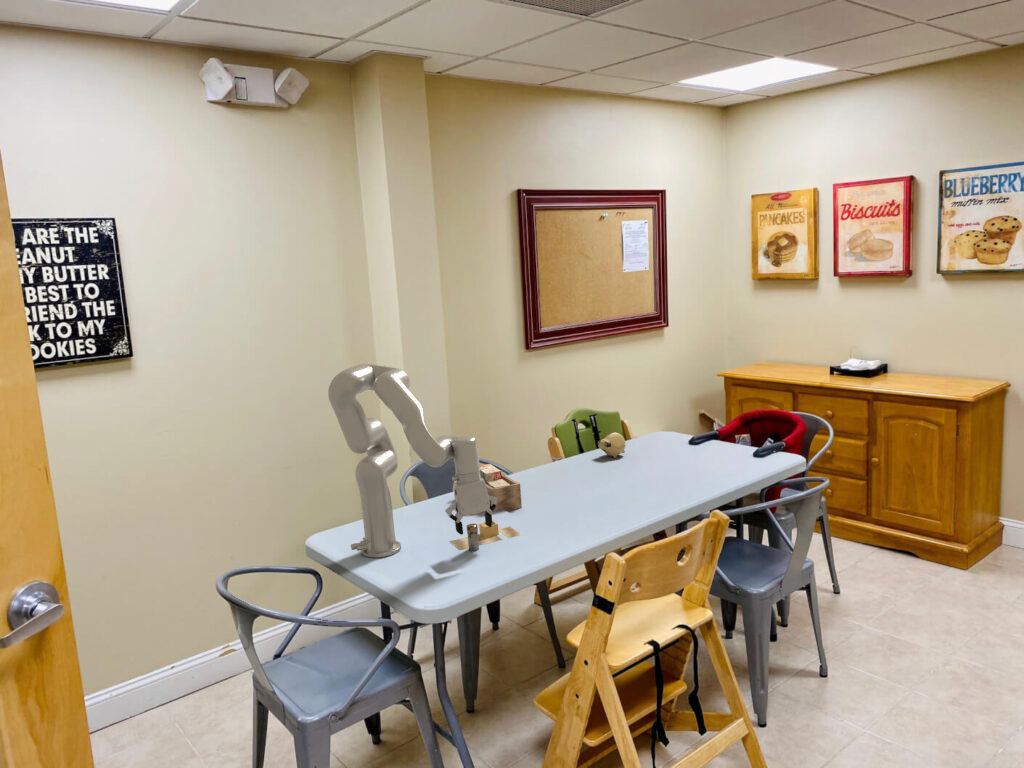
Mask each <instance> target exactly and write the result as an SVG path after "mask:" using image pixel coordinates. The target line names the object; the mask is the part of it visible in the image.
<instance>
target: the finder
mask: <svg viewBox="0 0 1024 768" xmlns="http://www.w3.org/2000/svg"><path fill="white" fill-rule="evenodd" d="M491 524H492V527H489V526H487V525H486V522H481V523H480V522H479V525H478V530H479V534H481V535H482V536H483V537H489V536H493V535H496V536H498V535H499V533H500V532H499V531H498V529H499V524H498V523H497V522H495V520H492V523H491Z"/></svg>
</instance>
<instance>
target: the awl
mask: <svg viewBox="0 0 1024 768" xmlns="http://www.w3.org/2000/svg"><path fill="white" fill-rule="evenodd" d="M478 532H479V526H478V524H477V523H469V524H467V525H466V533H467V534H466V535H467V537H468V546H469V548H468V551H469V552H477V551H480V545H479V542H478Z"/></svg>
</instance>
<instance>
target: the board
mask: <svg viewBox="0 0 1024 768" xmlns="http://www.w3.org/2000/svg"><path fill="white" fill-rule="evenodd" d="M498 531H499V533H501V534H502V535H504V536H505V537H507V538H508V539H510V538H511V539H512V538H515V537H518V536H522V533H520V532H519V531H517V530H516V529H514V528H513V527H512V526H507V527H503V528H498ZM502 540H503V539H502V538H501V537H500V536H498V535H493V536H489V537H483V536H482V535H481V534H480V533H479V534H478V542H479V546H482V545H486V544H491V543H495V542H499V541H502ZM449 543H450V544H452V545H453V546H454V547H455V548H456V549H457V550H459V551H462V550H467V549H469V546H468V536H467V537H466V536H465V537H463V538H458V539H455V540H454V539H453V540H450V541H449Z"/></svg>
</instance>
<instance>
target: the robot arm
mask: <svg viewBox="0 0 1024 768" xmlns="http://www.w3.org/2000/svg"><path fill="white" fill-rule="evenodd" d="M410 384H411V381H410V377H409V375H408V374H407V373H406V372H405V371H404V370H402V369H401V368H397V367H391V366H390V367H389V366H383V365H379V364H378V365H377V364H370V363H361V364H357V365H354V366H351V367H349V368H346V369H344V370H342V371H340V372H338V373H337V374H336V375H335V376H334V377H333V379H332V380H331V382H330V383H329V386H328V390H327V395H328V400H329V402H330V406H331V407H332V410H333V412H334V414H335V416H336V419H337V421H338V424H339V426H340V430H341V431H342V434H343V437H344V440H345V442H346V444H347V447H348V448H349V449H350V452H352V453H354V454H356V455H357V454H358V455H360V454H361V455H362V454H365V453H367V456H365V457H363V458H362V459H361V460H360V461H359V462H358V464H357V465H356V467H355V480H356V483H357V487H358V491H359V497H360V505H361V512H362V513H361V514H362V521H363V522H362V523H363V531H364V537H362V540H360V541H359V542H354V543H350V549H351V551H355V550H356V551H357V552H360V551H361V554H362V555H363V556H365V557H368V558H375V559H376V558H384V557H389V556H391V555H394V554H397V553H398V552H400V550H401V549H402V544H401V542H399V541H398V540H396V532H395V531H396V530H395V521H394V520H395V519H394V512H393V504H392V503H393V502H392V495H391V490H390V487H389V485H388V481H387V479H388V478H389V477H390V476H392V475H393V474H395V472H396V471H397V469H398V466H399V458H398V455H397V452H396V449H395V447H394V445H393V443H392V440H391V438H390V435H389V432H388V430H387V428H386V427H385V425H384V424H383V422H382V421H380V420H379V419H377V418H374V417H367V416H366V414H365V410H364V408H363V406H362V405H361V403H360V402H359V400H358V399H357V398H356V397H357V395H358V394H361V393H363V392H366V391H374V392H375V394H376V396H377V397H378V398H379V399H380V400H381V402H383V404H384V406H386V408H388V410H389V412H391V413H392V415H393V416H394V417H395V418H396V419H397V420H398V422H399V423H400V425H401V426H402V429H403V430H402V431H403V433H404V435H405V437H406V440H407V442H408V444H409V445H410V447H411V448H412V450H413V451H414V452H415V453H416V454H417V456H418V457H419V459H421V460H422V461H423V462H424V463H425V464H426V465H428V466H429V467H432V468H440V467H442V466H443V465H445V464H446V463H447V462H449V461H450V460H452V459H453V461H454V469H455V470H454V471H455V473H454V475H453V476H452V477H451V479H452V481H453V482H454V491H453V492H454V494H453V495H454V497H453V498H454V502H453V503H452V504H451V505H449V506H448V507H447V508H446V509H445V510H444V512H445V514H447V516H448V518H449V519H451V520H452V521H454V525H455V531H456V532H457V534H459V535H461V536H462V535H464V527H463V522H462V519H463V517H467V516H471V515H476V514H479V513H482V512H483V513H484V519H485V522H486V525H487V526H489V527H492V524H491V523H492V521H493V517H492V515H493V514H494V511H493V510H494V509H495V507H496V504H497V501H498V498H496V497H493V496H490V495H488V492H487V488H486V484H485V481H484V479H483V478H481V474H480V466H481V465H480V457H479V450H478V441H477V438H476V437H475V436H472V435H463V436H459V437H458V436H451V435H442V436H439V437H437V438H436V439H435V438H434V436H432V434H431V433H430V432H429V430H428V428H427V426H426V424H425V421H424V420H425V419H424V415H425V414H424V406H423V405H422V403H421V402H420V401H419V400H418V399H417V398H416V397H415V395H414V394H413V393H412V392H411V390H410V389H409V388H410V386H411V385H410ZM489 500H492V503H491V504H490V503H489ZM454 510H455V512H456V513H455V515H454V514H453V511H454ZM485 522H484V523H485Z"/></svg>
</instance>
